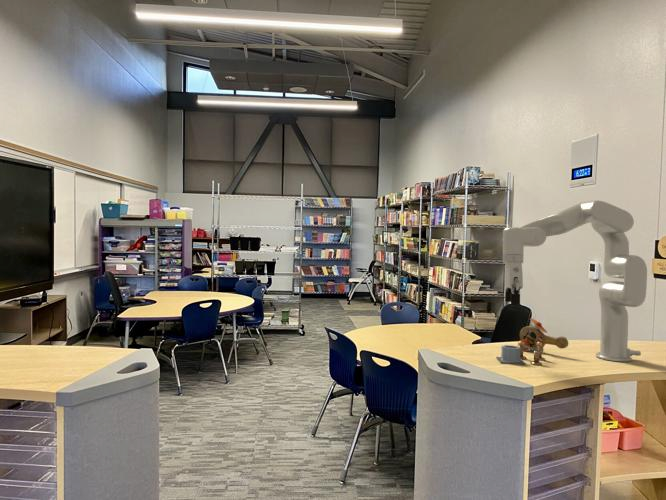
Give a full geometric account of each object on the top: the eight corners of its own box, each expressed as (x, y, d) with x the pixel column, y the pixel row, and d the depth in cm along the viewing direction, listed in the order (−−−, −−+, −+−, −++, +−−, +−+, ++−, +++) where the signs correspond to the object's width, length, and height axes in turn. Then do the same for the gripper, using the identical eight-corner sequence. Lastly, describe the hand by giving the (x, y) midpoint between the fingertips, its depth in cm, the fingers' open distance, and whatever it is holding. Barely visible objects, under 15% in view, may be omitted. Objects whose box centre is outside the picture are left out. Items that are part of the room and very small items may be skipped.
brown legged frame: (542, 358, 189) (543, 341, 189) (553, 366, 176) (553, 347, 176) (514, 356, 191) (514, 339, 191) (522, 364, 178) (523, 346, 178)
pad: (519, 359, 186) (519, 357, 186) (525, 364, 177) (525, 363, 177) (496, 358, 187) (496, 356, 187) (500, 363, 179) (501, 361, 179)
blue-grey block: (517, 358, 185) (517, 345, 185) (521, 362, 179) (521, 349, 179) (500, 357, 186) (500, 344, 186) (503, 361, 180) (504, 348, 180)
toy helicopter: (525, 347, 210) (526, 317, 210) (572, 356, 194) (573, 323, 194) (515, 349, 205) (515, 318, 205) (562, 359, 189) (563, 325, 189)
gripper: (529, 259, 173) (528, 306, 173) (517, 258, 190) (516, 301, 190) (507, 259, 174) (507, 305, 174) (498, 258, 191) (497, 300, 191)
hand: (512, 303), depth 182 cm, fingers open, 9 cm apart
